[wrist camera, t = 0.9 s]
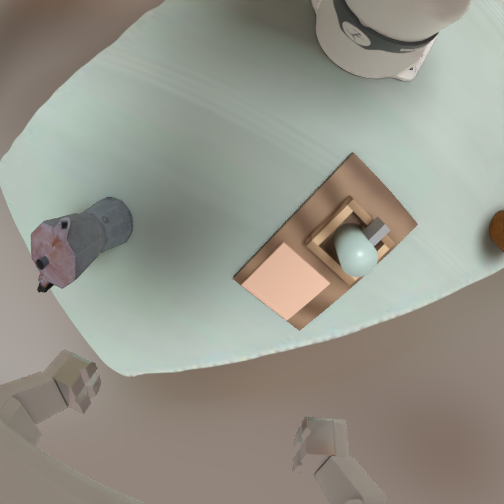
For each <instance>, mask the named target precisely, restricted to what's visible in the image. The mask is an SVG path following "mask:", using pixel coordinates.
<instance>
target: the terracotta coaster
mask: <svg viewBox="0 0 504 504" xmlns="http://www.w3.org/2000/svg"><path fill="white" fill-rule="evenodd" d="M329 284H330V281H329V280H328V279H327V278H326V277H325V276H324V275H323V274H322V273H320V272H319V271H318V270H317V269H316V268H315V267H314V266H313V265H311V264H310V263H309V262H308V261H307V260H306V259H305V258H303V257H302V256H301V255H300V254H299V253H298V252H297V251H295V250H294V249H293V248H292V247H291V246H290V245H289V244H287V243H286V242H285V241H283V242H282V243H281V244H280V245H279V246H278V247H277V248H276V249H275V250H274V251H273V252H272V253H271V254H270V255H269V256H268V257H267V258H266V259H265V260H264V261H263V262H262V263H261V264H260V265H259V266H258V267H257V268H256V269H255V270H254V271H253V272H252V273H251V274H250V275H249V276H248V277H247V278H246V279H245V280H244V281H243V282H242V286H243V287H244V288H246V289H247V290H248V291H249V292H251V293H252V294H253V295H254V296H256V297H257V298H258V299H259V300H261V301H262V302H263V303H265V304H266V305H267V306H268V307H270V308H271V309H272V310H274V311H275V312H276V313H277V314H279V315H280V316H281V317H283V318H284V319H285V320H288V319H290V318H291V317H292V316H293V315H294V314H296V313H297V312H298V311H299V310H300V309H302V308H303V307H304V306H305V305H306V304H307V303H309V302H310V301H311V300H312V299H313V298H314V297H316V296H317V295H318V294H319V293H320V292H321V291H322V290H324V289H325V288H326V287H327V286H328V285H329Z"/></svg>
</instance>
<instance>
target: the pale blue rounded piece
mask: <svg viewBox="0 0 504 504" xmlns="http://www.w3.org/2000/svg"><path fill="white" fill-rule="evenodd" d="M390 231H391V230H390V229H389V228H388V227H387V226H386V225H385V223H384V222H383V221H382V220H381V219H380V218H379V217H377V218H376V219H375V220H374V221H373V222H372V223H371V224H370V225H369V226H368V227H367V228H366V229H365V230H364V231H363V229H362V228H361V227H360V226H359V225H357V224H355V223H345V224H343V225H341V226H339V227H338V228H337V230H336V231H335V233H334V236H333V243H334V246H335V249H336V252H337V255H338V258H339V261H340V264H341V267H342V269H343V271H344V272H345V273H346V274H348V275H350V276H353V277H362V276H365V275H367V274H369V273H370V272H371V271H372V270H373V269H374V268H375V266H376V264H377V260H378V254H377V251H376V249H375V247H374V246H375V245H376V244H377V243H378V242H379V241H380V240H381V239H382V238H383V237H384V236H385V235H386V234H387V233H389V232H390ZM373 245H374V246H373Z"/></svg>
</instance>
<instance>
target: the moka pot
mask: <svg viewBox="0 0 504 504" xmlns="http://www.w3.org/2000/svg"><path fill="white" fill-rule="evenodd" d="M132 227H133V225H132V217H131V214H130V212H129V210H128V208H127V207H126V205H125V204H124V203H123V202H122V201H120V200H118V199H116V198H112V197H107V198H105V199H102V200H100V201H98V202H97V203H95V204H94V205H92V206H91V207H90V208H88V209H87V210H85V211H84V212H83V213H81V214H76V213H75V214H71V215H66V216H63V217H59V218H55V219H50V220H46V221H43V222H42V223H41V224H40V225H39V226H38V227H37V228H36V229H35V230H34V231H33V232H32V233H31V255H32V259H33V261H34V263H35V264H36V266H37V268H38V270H39V272H40V275H39V279H38V280H39V282H40V283H39V286H38V289H37V290H38V292H47V290H48V289H50V288H51V287H52V286H54V285H56V286H58V287H59V288H61V289H62V288H64V287H66V286H67V285H69V284H70V283H72V282H73V281H75V280H76V279H77V278H78V277H79V276H80V275H81V274H82V273H83V272H84V270H85V269H86V268H87V267H88V266H89V265H90V264H91V263H92V262H93V261H94V260H95V259H96V258H97V257H98V255H99V253H101V252H104V251H106V250H108V249H111V248H113V247H115V246H118V245H120V244H122V243H125V242H126V241H127V239H128V238H129V236H130V234H131V232H132Z"/></svg>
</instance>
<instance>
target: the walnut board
mask: <svg viewBox="0 0 504 504" xmlns="http://www.w3.org/2000/svg"><path fill="white" fill-rule="evenodd" d="M377 217H379V218H380V219H381V220H382V221H383V222H384V223H385V225H386V226H387V227H388V228H389V229H390V230H391V231H390V232H389V233H387V234H386V235H385V236H384V237H383V238H382V239H381V240H380V241H379V242H378V243H377V244H376V245H375V246H374V245H373V246H374V247H375V249H376V251H377V254H378V260H377V264H378V263H379V262H380V261H381V260H382V259H383V258H384V257H385V256H386V255H387V254H388V253H389V252H390V251H392V250H393V249H394V248H395V247H396V246H397V245H398V244H399V243H400V242H401V241H402V240H403V239H404V238H405V237H406V236H407V235H408V234H409V233H410V232H411V231H412V230H413V229H414V228H415V227H416V226H417V225H418V224H417V223H416V221H415V220H414V219H413V218H412V216H411V215H410V214H409V213H408V212H407V210H406V209H405V208H404V207H403V206H402V204H401V203H400V202H399V201H398V200H397V199H396V197H395V196H394V195H393V194H392V193H391V192H390V191H389V189H388V188H387V187H386V186H385V185H384V184H383V183H382V182H381V181H380V179H379V178H378V177H377V176H376V175H375V174H374V173H373V172H372V171H371V170H370V169H369V168H368V167H367V166H366V165H365V164H364V163H363V162H362V161H361V160H360V159H359V158H358V156H357V155H356V154H355V153H352V154H351V155H350V156H349V157H348V158H347V159H346V160H345V161H344V162H343V163H342V164H341V165H340V166H339V167H338V168H337V169H336V170H335V171H334V172H333V174H332V175H331V176H330V177H329V178H328V179H327V180H326V181H325V182H324V183H323V184H322V185H321V186H320V187H319V188H318V189H317V190H316V191H315V192H314V193H313V195H312V196H311V197H310V198H309V199H308V200H307V201H306V202H305V203H304V204H303V205H302V206H301V207H300V208H299V209H298V210H297V211H296V212H295V213H294V214H293V215H292V217H291V218H290V219H289V220H288V221H287V222H286V223H285V224H284V225H283V226H282V227H281V228H280V229H279V230H278V231H277V232H276V233H275V234H274V235H273V236H272V237H271V238H270V240H269V241H268V242H267V243H266V244H265V245H264V246H263V247H262V248H261V249H260V250H259V251H258V252H257V253H256V254H255V255H254V256H253V257H252V258H251V259H250V260H249V261H248V262H247V263H246V265H245V266H244V267H243V268H242V269H241V270H240V271H239V272H238V273H237V274H236V275H235V276H234V278H233V279H234V280H235V281H236V282H238V283H239V284H240V285H241V286H242V282H243V281H244V280H245V279H246V278H247V277H248V276H249V275H250V274H251V273H252V272H253V271H254V270H255V269H256V268H257V267H258V266H259V265H260V264H261V263H262V262H263V261H264V260H265V259H266V258H267V257H268V256H269V255H270V254H271V253H272V252H273V251H274V250H275V249H276V248H277V247H278V246H279V245H280V244H281V243H282V242H283V241H285V242H286V243H287V244H289V245H290V246H291V247H292V248H293V249H294V250H295V251H297V252H298V253H299V254H300V255H301V256H302V257H303V258H305V259H306V260H307V261H308V262H309V263H310V264H311V265H313V266H314V267H315V268H316V269H317V270H318V271H319V272H320V273H322V274H323V275H324V276H325V277H326V278H327V279H328V280H329V281H330V284H329V285H328V286H327V287H326V288H325V289H324V290H322V291H321V292H320V293H319V294H318V295H317V296H316V297H314V298H313V299H312V300H311V301H310V302H309V303H307V304H306V305H305V306H304V307H303V308H302V309H300V310H299V311H298V312H297V313H296V314H294V315H293V316H292V317H291V318H290V319H288V320H286V321H287V322H289V323H290V324H291V325H293V326H294V327H295V328H297V329H298V330H299V331H300V330H301V329H302V328H303V327H305V326H306V325H307V324H308V323H310V322H311V321H312V320H313V319H315V318H316V317H317V316H318V315H319V314H321V313H322V312H323V311H324V310H325V309H327V308H328V307H329V306H330V305H331V304H333V303H334V302H335V301H336V300H337V299H339V298H340V297H341V296H342V295H343V294H344V293H346V292H347V291H348V290H349V289H350V288H351V287H352V286H354V285H355V284H356V283H357V282H358V281H359V280H360V279H361V278H362V277H364V276H362V277H353V276H350V275H348V274H346V273H345V272H344V271H343V269H342V267H341V264H340V261H339V258H338V255H337V252H336V249H335V246H334V243H333V236H334V233H335V231H336V230H337V228H338V227H339V226H341V225H343V224H345V223H355V224H357V225H359V226H360V227H361V228H362V229H363V231H364V230H365V229H366V228H367V227H368V226H369V225H370V224H371V223H372V222H373V221H374V220H375V219H376V218H377ZM377 264H376V265H377ZM245 289H246V288H245ZM246 290H247V289H246ZM250 293H251V292H250ZM251 294H252V293H251ZM255 297H256V296H255ZM260 301H261V300H260ZM264 304H265V303H264ZM265 305H266V304H265ZM269 308H270V307H269ZM273 311H274V310H273ZM274 312H275V311H274ZM278 315H279V314H278ZM282 318H283V317H282Z"/></svg>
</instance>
